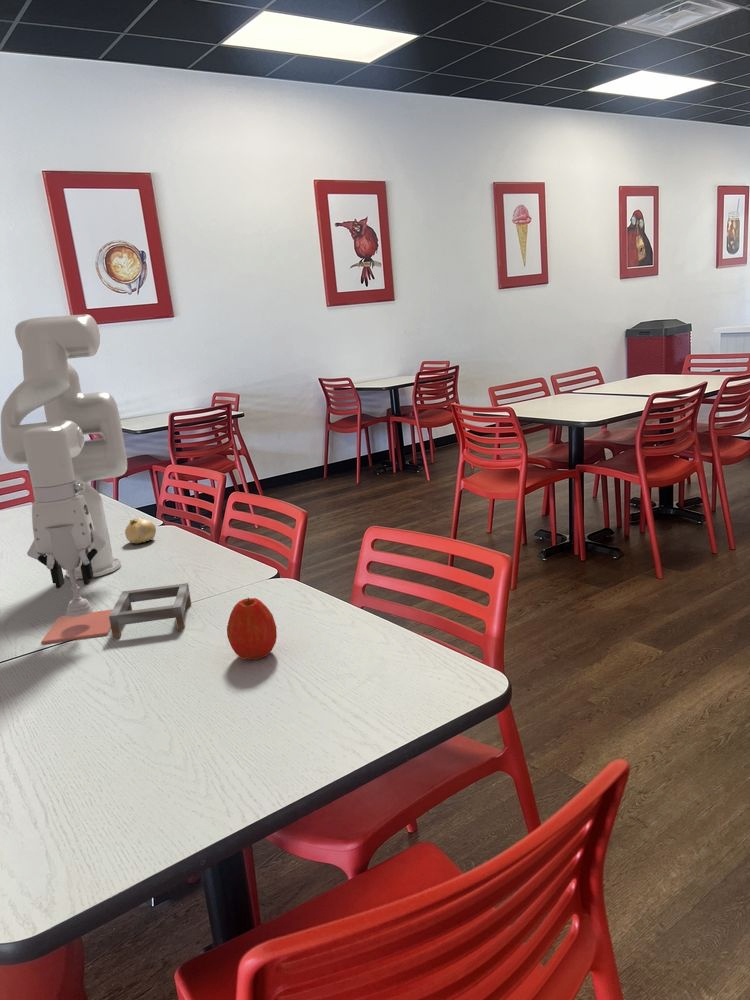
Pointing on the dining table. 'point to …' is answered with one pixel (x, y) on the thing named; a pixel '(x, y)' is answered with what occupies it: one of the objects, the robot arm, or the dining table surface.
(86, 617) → the coaster
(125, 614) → the ring stand
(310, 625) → the dining table surface
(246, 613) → the apple
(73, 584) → the chalice
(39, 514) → the robot arm
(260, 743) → the dining table surface
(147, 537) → the onion
